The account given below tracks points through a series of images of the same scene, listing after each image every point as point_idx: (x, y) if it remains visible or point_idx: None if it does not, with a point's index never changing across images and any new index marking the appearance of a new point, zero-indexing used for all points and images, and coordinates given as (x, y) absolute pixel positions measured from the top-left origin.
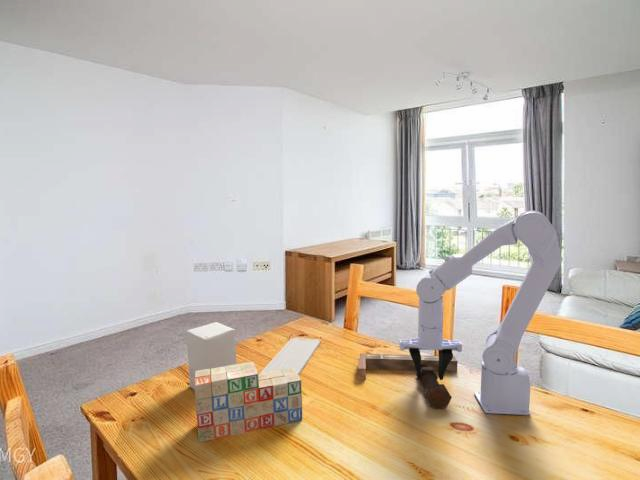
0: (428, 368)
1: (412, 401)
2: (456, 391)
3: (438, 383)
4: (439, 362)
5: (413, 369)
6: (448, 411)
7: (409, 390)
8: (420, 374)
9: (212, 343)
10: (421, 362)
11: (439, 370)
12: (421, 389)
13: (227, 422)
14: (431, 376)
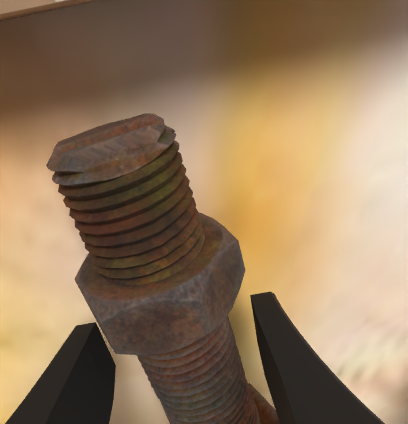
0: (167, 328)
1: None
2: (346, 265)
3: (241, 406)
4: (288, 415)
5: (2, 19)
6: None
7: (64, 322)
8: (109, 413)
9: None
10: (61, 3)
11: (268, 367)
12: None
13: None
14: (195, 385)
